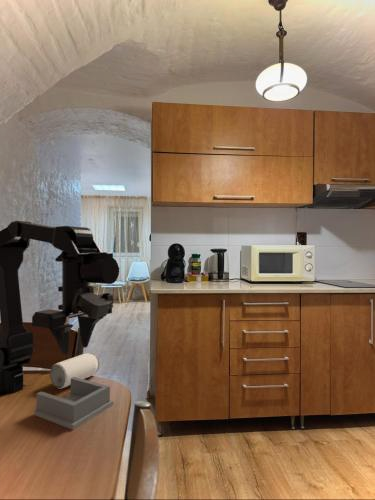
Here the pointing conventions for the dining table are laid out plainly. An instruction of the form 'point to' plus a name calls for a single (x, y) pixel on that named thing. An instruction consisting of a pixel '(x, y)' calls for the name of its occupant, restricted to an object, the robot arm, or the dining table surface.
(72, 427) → the u rest
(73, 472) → the dining table surface
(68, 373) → the can
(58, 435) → the dining table surface
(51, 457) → the dining table surface
